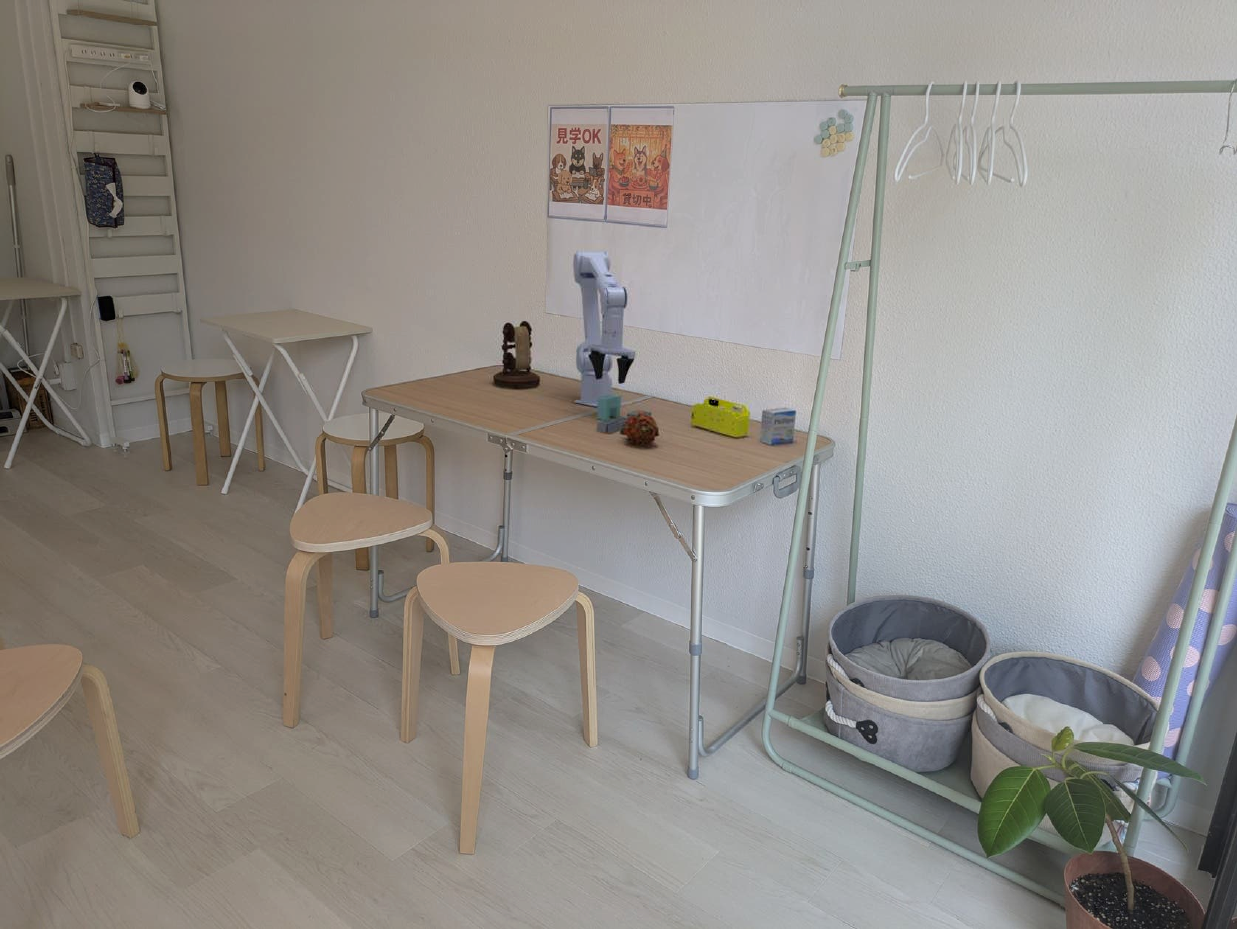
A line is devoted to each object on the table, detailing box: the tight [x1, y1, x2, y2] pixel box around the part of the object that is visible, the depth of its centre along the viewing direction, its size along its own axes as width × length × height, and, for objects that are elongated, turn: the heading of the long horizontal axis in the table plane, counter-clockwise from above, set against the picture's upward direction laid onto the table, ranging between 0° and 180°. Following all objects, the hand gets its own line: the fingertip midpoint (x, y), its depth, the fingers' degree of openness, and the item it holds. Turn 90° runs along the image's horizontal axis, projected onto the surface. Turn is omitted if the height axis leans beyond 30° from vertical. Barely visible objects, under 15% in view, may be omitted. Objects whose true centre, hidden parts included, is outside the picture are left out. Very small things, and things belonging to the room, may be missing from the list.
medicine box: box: [759, 407, 797, 446], centre depth 239 cm, size 8×4×9 cm, turn 122°
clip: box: [596, 393, 622, 421], centre depth 256 cm, size 7×3×6 cm, turn 146°
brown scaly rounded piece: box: [619, 413, 660, 447], centre depth 232 cm, size 8×8×12 cm
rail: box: [596, 409, 652, 435], centre depth 249 cm, size 20×4×2 cm, turn 146°
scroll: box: [492, 320, 541, 390], centre depth 289 cm, size 15×15×20 cm
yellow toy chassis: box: [690, 395, 751, 438], centre depth 246 cm, size 16×6×8 cm, turn 43°
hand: (610, 380), depth 253 cm, fingers open, 7 cm apart
